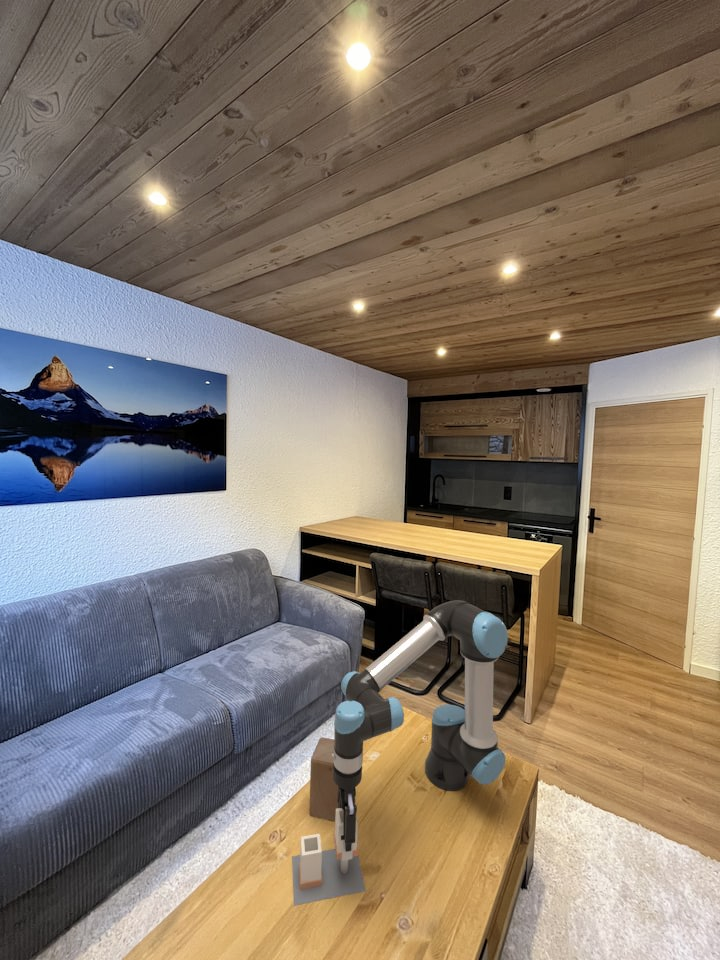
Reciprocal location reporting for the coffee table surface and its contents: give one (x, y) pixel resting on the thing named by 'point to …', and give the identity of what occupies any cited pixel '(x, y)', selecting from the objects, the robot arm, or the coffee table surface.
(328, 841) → the coffee table surface
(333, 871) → the pin board
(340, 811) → the sleeve
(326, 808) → the wooden block
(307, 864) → the sleeve
